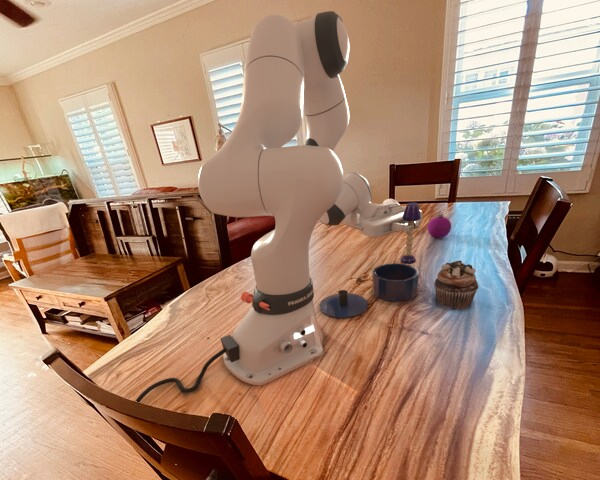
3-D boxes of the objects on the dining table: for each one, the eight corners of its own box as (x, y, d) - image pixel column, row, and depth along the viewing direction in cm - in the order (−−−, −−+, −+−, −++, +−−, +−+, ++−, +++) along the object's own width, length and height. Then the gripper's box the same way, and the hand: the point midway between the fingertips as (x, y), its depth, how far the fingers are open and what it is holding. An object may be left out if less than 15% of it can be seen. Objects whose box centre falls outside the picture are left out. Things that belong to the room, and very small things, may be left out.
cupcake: (423, 299, 80) (427, 263, 75) (452, 289, 83) (457, 254, 78) (454, 315, 72) (460, 276, 67) (484, 304, 75) (492, 265, 70)
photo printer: (380, 226, 142) (381, 198, 136) (389, 224, 142) (390, 196, 136) (391, 231, 133) (392, 202, 127) (400, 230, 133) (402, 200, 127)
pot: (401, 308, 77) (403, 285, 74) (364, 296, 85) (364, 274, 82) (424, 291, 84) (427, 269, 81) (388, 281, 91) (388, 260, 88)
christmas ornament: (444, 233, 124) (447, 208, 119) (453, 239, 116) (457, 212, 112) (423, 235, 124) (425, 210, 119) (431, 242, 117) (434, 215, 112)
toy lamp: (420, 260, 91) (424, 202, 83) (412, 266, 88) (416, 206, 80) (404, 257, 94) (407, 201, 86) (397, 263, 91) (399, 205, 83)
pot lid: (346, 326, 73) (345, 309, 71) (309, 310, 81) (308, 294, 79) (377, 305, 80) (378, 289, 78) (340, 292, 88) (340, 277, 86)
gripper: (350, 216, 90) (386, 224, 80) (400, 202, 99) (438, 207, 88) (351, 237, 93) (385, 247, 83) (399, 222, 102) (436, 229, 91)
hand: (413, 227), depth 86 cm, fingers closed on toy lamp
